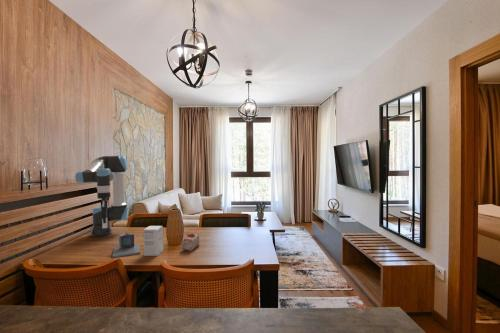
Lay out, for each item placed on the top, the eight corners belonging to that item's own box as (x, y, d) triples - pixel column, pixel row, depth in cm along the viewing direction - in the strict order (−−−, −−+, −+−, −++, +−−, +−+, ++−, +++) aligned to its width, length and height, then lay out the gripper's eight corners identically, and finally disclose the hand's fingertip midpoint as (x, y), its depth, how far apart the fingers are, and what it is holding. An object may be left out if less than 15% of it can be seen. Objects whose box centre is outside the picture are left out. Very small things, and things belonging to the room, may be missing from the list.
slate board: (114, 249, 177) (114, 247, 177) (139, 245, 184) (139, 243, 184) (112, 257, 161) (112, 256, 161) (140, 253, 167) (140, 251, 167)
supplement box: (149, 250, 173) (149, 225, 172) (163, 250, 173) (163, 225, 172) (143, 256, 163) (142, 229, 163) (158, 255, 163) (157, 229, 163)
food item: (192, 252, 169) (192, 237, 169) (181, 251, 171) (180, 236, 171) (200, 245, 183) (200, 231, 182) (189, 244, 184) (189, 231, 184)
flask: (119, 249, 173) (118, 233, 172) (119, 248, 175) (118, 232, 175) (134, 247, 177) (134, 231, 176) (134, 246, 179) (133, 230, 179)
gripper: (98, 191, 174) (99, 226, 175) (95, 193, 162) (97, 230, 163) (111, 190, 177) (112, 224, 178) (109, 192, 165) (110, 229, 166)
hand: (104, 227), depth 170 cm, fingers closed
